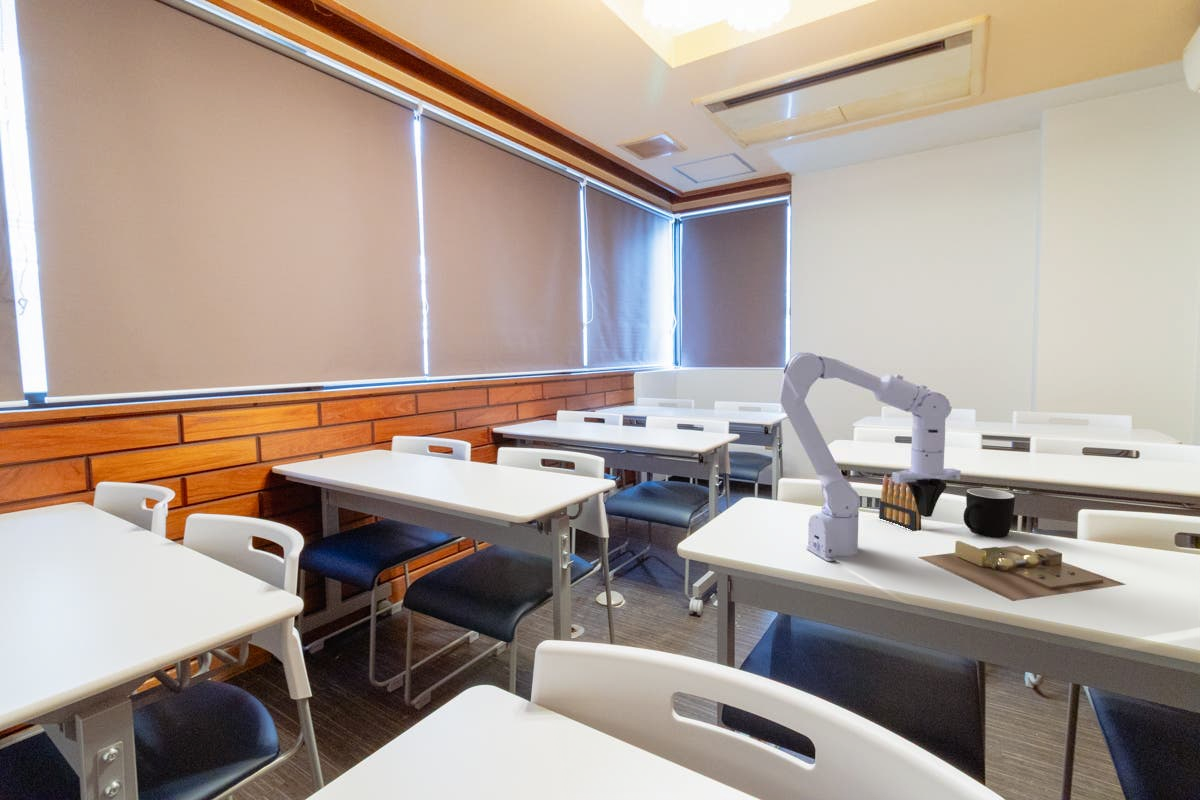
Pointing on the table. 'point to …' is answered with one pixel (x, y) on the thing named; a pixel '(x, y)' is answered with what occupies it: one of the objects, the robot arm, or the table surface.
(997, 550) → the leaf
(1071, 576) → the hinge base
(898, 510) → the ammunition clip
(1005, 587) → the plank
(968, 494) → the mug
